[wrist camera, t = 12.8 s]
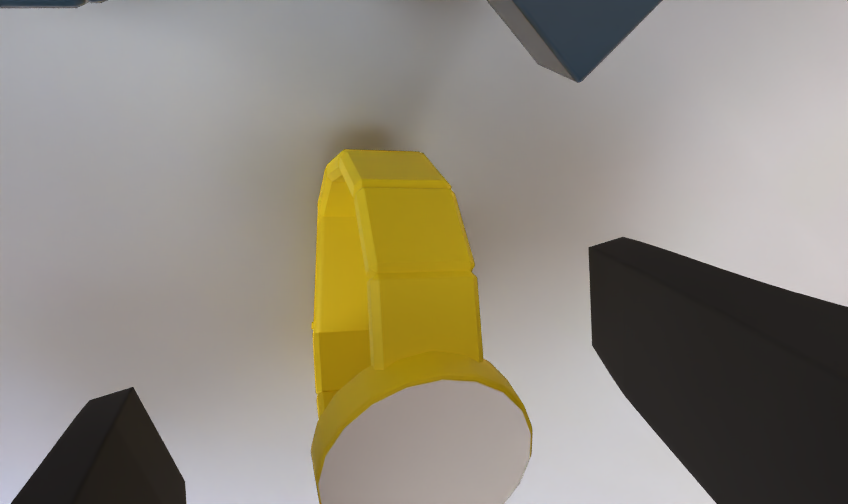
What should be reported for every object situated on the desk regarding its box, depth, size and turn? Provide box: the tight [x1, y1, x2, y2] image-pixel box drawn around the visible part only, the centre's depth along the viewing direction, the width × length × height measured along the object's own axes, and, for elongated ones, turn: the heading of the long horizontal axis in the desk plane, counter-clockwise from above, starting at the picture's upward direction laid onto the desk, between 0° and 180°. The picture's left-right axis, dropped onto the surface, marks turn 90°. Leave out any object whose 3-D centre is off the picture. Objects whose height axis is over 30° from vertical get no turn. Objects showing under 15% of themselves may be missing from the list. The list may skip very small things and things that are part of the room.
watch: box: [311, 149, 532, 504], centre depth 10 cm, size 6×3×6 cm, turn 173°
